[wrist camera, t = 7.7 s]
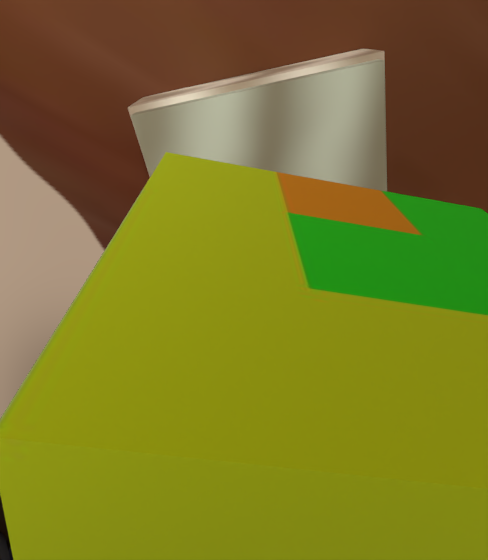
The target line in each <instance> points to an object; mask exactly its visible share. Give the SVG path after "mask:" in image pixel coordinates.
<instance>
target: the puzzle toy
mask: <svg viewBox="0 0 488 560" xmlns="http://www.w3.org/2000/svg"><path fill="white" fill-rule="evenodd" d="M0 495H1V500H2V505H3V510H4V515H5V520H6V525H7V530H8V535H9V540H10V545H11V551H12V556H13V560H488V213H486V212H485V211H483V210H482V209H480V208H475V207H470V206H464V205H458V204H453V203H447V202H442V201H436V200H431V199H425V198H419V197H414V196H408V195H403V194H397V193H392V192H386V191H380V190H375V189H369V188H364V187H358V186H353V185H347V184H341V183H336V182H330V181H325V180H319V179H313V178H308V177H302V176H297V175H291V174H286V173H280V172H274V171H269V170H263V169H258V168H252V167H247V166H241V165H235V164H230V163H224V162H219V161H213V160H208V159H202V158H196V157H191V156H185V155H180V154H174V153H168V152H166V153H165V154H164V156H163V158H162V159H161V161H160V162H159V164H158V166H157V167H156V169H155V170H154V172H153V174H152V175H151V177H150V178H149V180H148V182H147V183H146V185H145V187H144V188H143V190H142V191H141V193H140V195H139V196H138V198H137V199H136V201H135V203H134V204H133V206H132V207H131V209H130V211H129V212H128V214H127V216H126V217H125V219H124V220H123V222H122V224H121V225H120V227H119V228H118V230H117V232H116V233H115V235H114V236H113V238H112V240H111V241H110V243H109V245H108V246H107V248H106V249H105V251H104V253H103V254H102V256H101V257H100V259H99V261H98V262H97V264H96V265H95V267H94V269H93V270H92V272H91V274H90V275H89V277H88V278H87V280H86V282H85V283H84V285H83V287H82V288H81V290H80V291H79V293H78V295H77V296H76V298H75V299H74V301H73V302H72V304H71V306H70V307H69V309H68V311H67V312H66V314H65V315H64V317H63V319H62V320H61V322H60V323H59V325H58V327H57V328H56V330H55V331H54V333H53V335H52V336H51V338H50V340H49V341H48V343H47V344H46V346H45V348H44V349H43V351H42V353H41V354H40V356H39V358H38V359H37V360H36V362H35V364H34V365H33V367H32V369H31V370H30V372H29V373H28V375H27V377H26V378H25V380H24V381H23V383H22V385H21V386H20V388H19V389H18V391H17V393H16V394H15V396H14V397H13V399H12V401H11V403H10V404H9V406H8V407H7V409H6V410H5V412H4V414H3V415H2V417H1V418H0Z"/></svg>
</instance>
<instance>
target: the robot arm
mask: <svg viewBox="0 0 488 560" xmlns="http://www.w3.org/2000/svg"><path fill="white" fill-rule="evenodd" d="M0 560H13V556H12V551H11V545H10V540H9V535H8V530H7V525H6V520H5V515H4V510H3V505H2V500H1V495H0Z"/></svg>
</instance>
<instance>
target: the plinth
mask: <svg viewBox="0 0 488 560" xmlns="http://www.w3.org/2000/svg"><path fill="white" fill-rule="evenodd" d="M128 110H129V113H130V116H131V120H132V123H133V126H134V129H135V132H136V135H137V138H138V141H139V145H140V148H141V151H142V154H143V157H144V160H145V163H146V166H147V170H148V173H149V176H150V177H151V175H152V174H153V172H154V170H155V169H156V167H157V166H158V164H159V162H160V161H161V159H162V158H163V156H164V154H165V153H166V152H168V153H174V154H180V155H185V156H191V157H196V158H202V159H208V160H213V161H219V162H224V163H230V164H235V165H241V166H247V167H252V168H258V169H263V170H269V171H274V172H280V173H286V174H291V175H297V176H302V177H308V178H313V179H319V180H325V181H330V182H336V183H341V184H347V185H353V186H358V187H364V188H369V189H375V190H380V191H386V192H387V160H386V110H385V60H384V51H380V50H371V49H359V50H354V51H350V52H345V53H341V54H336V55H332V56H327V57H323V58H318V59H314V60H309V61H305V62H300V63H296V64H291V65H287V66H282V67H278V68H273V69H268V70H264V71H259V72H255V73H250V74H246V75H241V76H237V77H232V78H228V79H223V80H219V81H214V82H210V83H205V84H201V85H196V86H192V87H187V88H183V89H178V90H174V91H169V92H165V93H160V94H156V95H151V96H147V97H143V98H141V99H140V100H138V101H137V102H135V103H134V104H132V105H131V106H129V107H128Z"/></svg>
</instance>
